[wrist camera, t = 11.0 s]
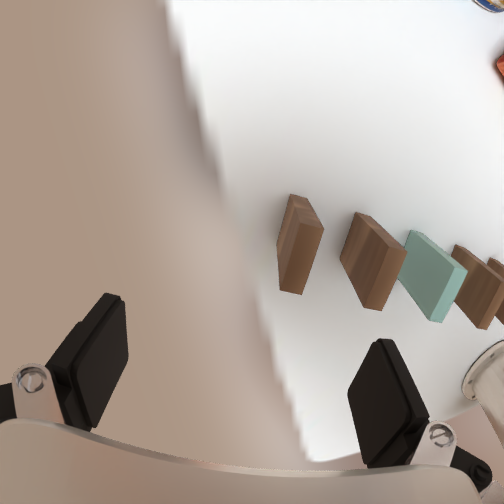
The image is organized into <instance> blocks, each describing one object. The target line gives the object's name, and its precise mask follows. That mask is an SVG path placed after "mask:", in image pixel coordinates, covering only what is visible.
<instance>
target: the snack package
mask: <svg viewBox="0 0 504 504" xmlns="http://www.w3.org/2000/svg"><path fill="white" fill-rule="evenodd" d="M497 67H498V69H499V70H500V72H501V73H502V75H503V76H504V54H503V55H502V56H501V57H500V58H499V59H498V61H497Z"/></svg>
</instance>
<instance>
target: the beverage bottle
mask: <svg viewBox="0 0 504 504" xmlns="http://www.w3.org/2000/svg"><path fill="white" fill-rule="evenodd" d="M474 1H476V2H477V3H478V4H479V5H481V6H482V7H484V8H485V9H487V10H489V11H492V12H503V11H504V0H474Z"/></svg>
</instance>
